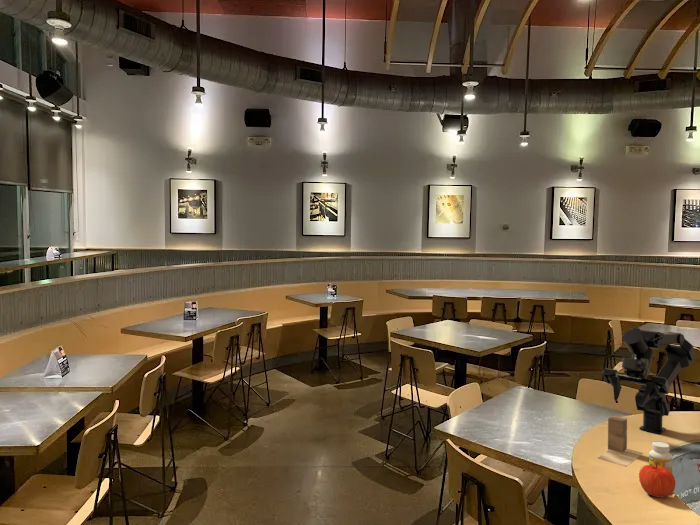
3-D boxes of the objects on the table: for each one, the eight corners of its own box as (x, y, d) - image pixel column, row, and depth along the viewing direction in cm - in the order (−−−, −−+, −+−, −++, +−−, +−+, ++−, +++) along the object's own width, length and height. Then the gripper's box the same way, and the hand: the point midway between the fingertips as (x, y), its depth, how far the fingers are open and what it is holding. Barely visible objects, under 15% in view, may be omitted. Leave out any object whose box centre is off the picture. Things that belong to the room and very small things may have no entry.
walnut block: (612, 447, 160) (613, 415, 160) (626, 450, 157) (627, 418, 157) (607, 450, 157) (608, 418, 157) (621, 454, 155) (622, 421, 154)
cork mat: (615, 446, 162) (615, 445, 162) (643, 454, 156) (643, 452, 156) (597, 459, 152) (597, 458, 152) (626, 467, 146) (626, 466, 146)
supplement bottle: (677, 482, 137) (677, 446, 137) (661, 485, 136) (662, 449, 135) (659, 474, 142) (659, 439, 142) (644, 476, 141) (644, 442, 140)
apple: (637, 496, 130) (637, 465, 129) (640, 484, 136) (640, 454, 136) (674, 505, 125) (675, 473, 125) (675, 492, 132) (676, 461, 131)
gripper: (604, 344, 173) (590, 383, 166) (667, 352, 159) (655, 395, 152) (613, 363, 178) (600, 401, 171) (674, 372, 165) (663, 415, 157)
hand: (628, 402), depth 163 cm, fingers open, 7 cm apart
